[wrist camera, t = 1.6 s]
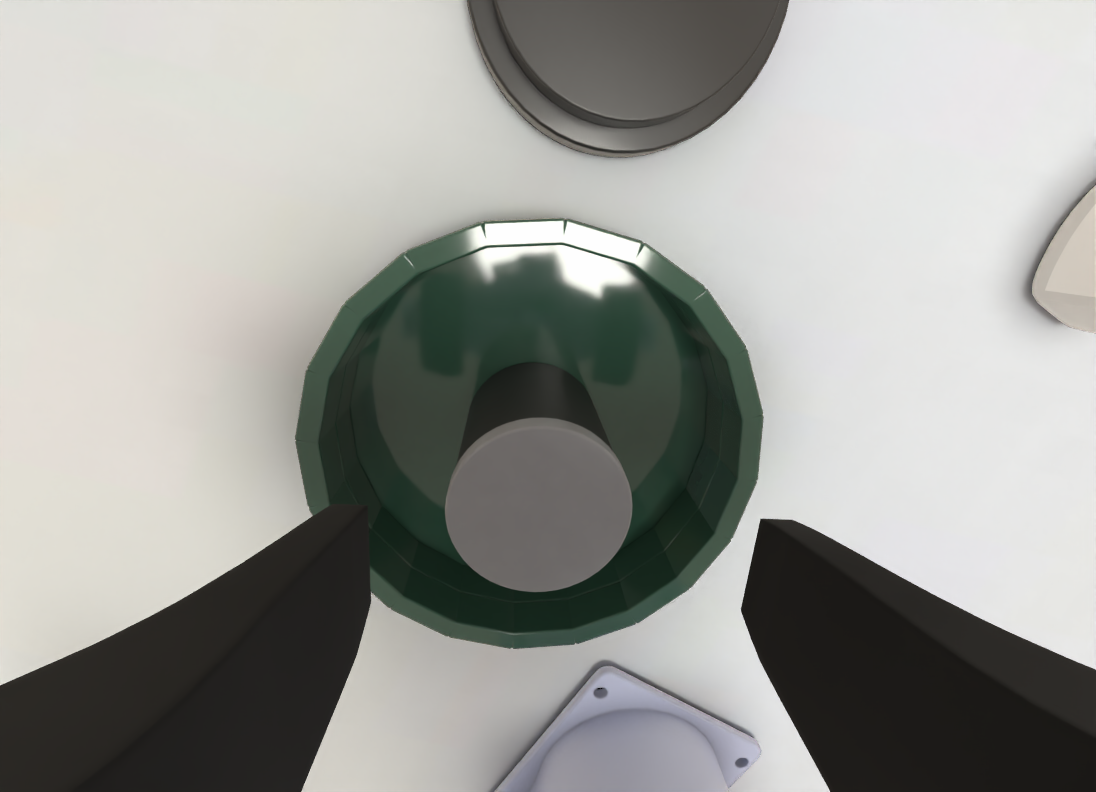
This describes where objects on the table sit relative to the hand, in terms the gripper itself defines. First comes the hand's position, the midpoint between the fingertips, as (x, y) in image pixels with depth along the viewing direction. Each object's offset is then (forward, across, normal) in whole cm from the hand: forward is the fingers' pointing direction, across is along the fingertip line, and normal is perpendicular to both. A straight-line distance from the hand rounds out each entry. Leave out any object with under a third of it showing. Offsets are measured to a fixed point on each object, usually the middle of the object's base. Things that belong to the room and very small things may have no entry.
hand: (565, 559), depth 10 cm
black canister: (+8, 0, 0) cm, 8 cm away
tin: (+8, 0, 0) cm, 8 cm away
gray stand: (+8, -1, -12) cm, 14 cm away
